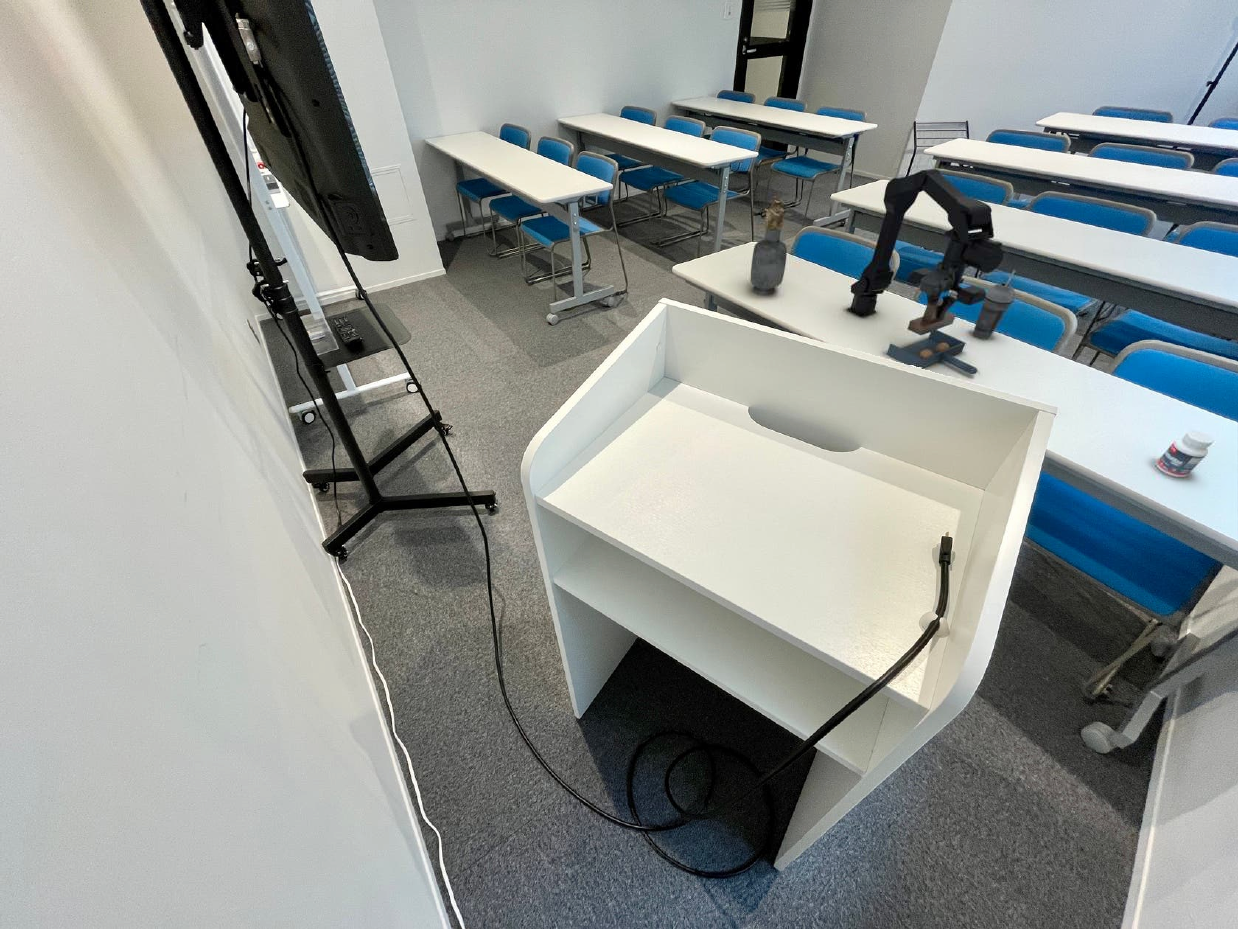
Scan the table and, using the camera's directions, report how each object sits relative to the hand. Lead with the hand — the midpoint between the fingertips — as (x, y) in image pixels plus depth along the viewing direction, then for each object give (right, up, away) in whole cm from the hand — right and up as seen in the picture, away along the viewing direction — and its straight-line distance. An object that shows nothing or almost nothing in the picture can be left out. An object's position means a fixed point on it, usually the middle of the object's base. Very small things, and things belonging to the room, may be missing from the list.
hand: (933, 316), depth 144 cm
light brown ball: (-1, -10, +2) cm, 10 cm away
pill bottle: (+31, -42, -32) cm, 61 cm away
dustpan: (+3, -12, +3) cm, 12 cm away
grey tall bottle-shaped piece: (-34, +22, +43) cm, 60 cm away
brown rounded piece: (+5, -8, +4) cm, 10 cm away
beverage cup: (+22, -2, +13) cm, 26 cm away
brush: (0, -2, +2) cm, 3 cm away
